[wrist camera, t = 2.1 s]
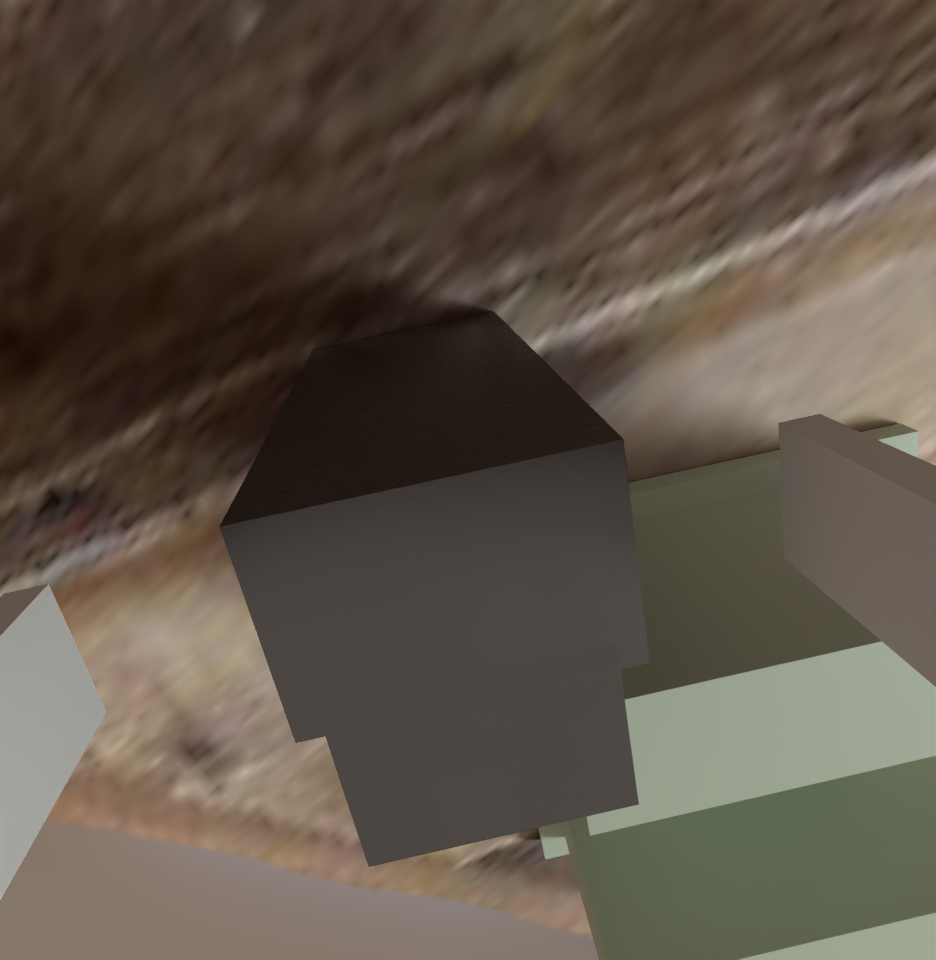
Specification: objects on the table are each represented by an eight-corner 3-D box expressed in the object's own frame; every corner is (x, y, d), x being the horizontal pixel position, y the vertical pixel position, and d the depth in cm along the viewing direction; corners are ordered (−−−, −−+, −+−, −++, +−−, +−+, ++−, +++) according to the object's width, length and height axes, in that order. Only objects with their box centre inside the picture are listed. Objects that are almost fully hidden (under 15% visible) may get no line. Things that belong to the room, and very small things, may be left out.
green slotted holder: (473, 516, 26) (520, 687, 17) (899, 423, 27) (1175, 540, 17) (540, 840, 32) (603, 1100, 23) (889, 759, 32) (1091, 982, 23)
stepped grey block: (313, 349, 23) (219, 526, 10) (493, 311, 24) (623, 439, 11) (365, 539, 26) (341, 873, 13) (527, 504, 26) (666, 798, 13)
